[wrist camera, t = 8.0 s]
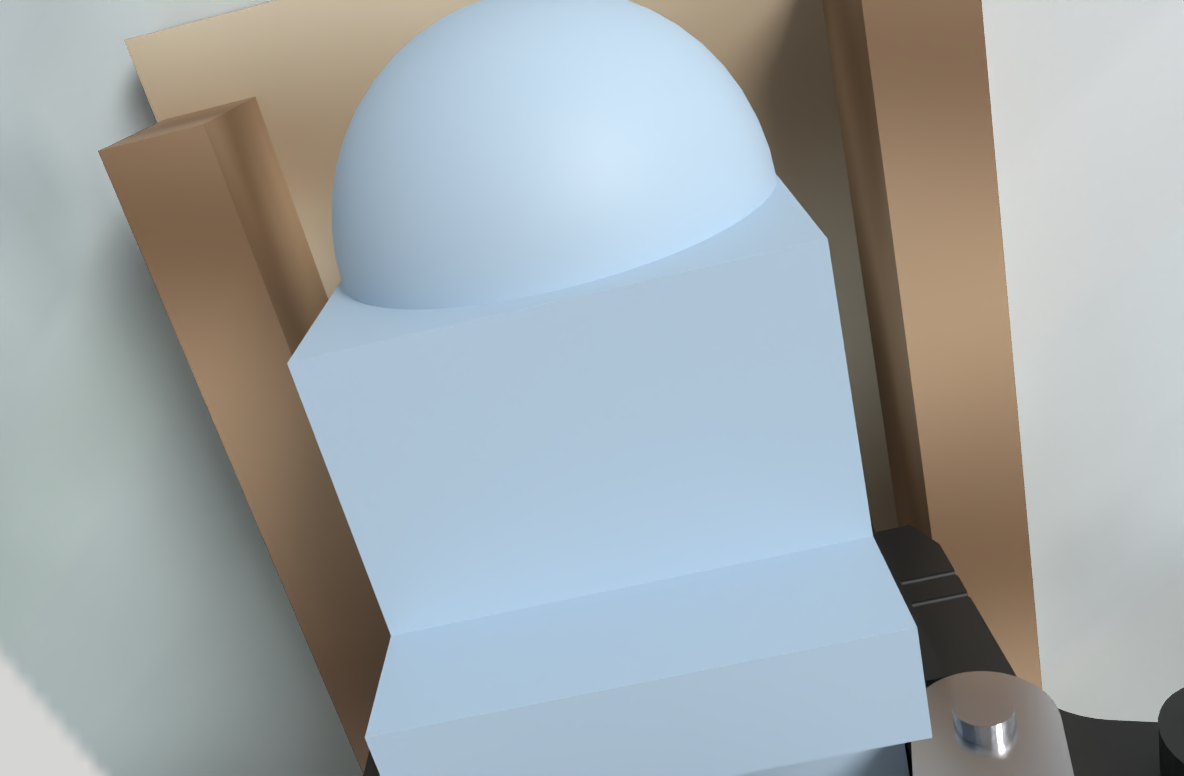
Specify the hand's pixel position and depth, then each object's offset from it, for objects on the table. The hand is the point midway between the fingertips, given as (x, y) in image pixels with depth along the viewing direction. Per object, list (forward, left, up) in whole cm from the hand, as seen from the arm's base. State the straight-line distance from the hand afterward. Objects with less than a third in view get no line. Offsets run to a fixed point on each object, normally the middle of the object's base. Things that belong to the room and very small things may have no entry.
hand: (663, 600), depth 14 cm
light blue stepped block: (0, 0, 0) cm, 1 cm away
